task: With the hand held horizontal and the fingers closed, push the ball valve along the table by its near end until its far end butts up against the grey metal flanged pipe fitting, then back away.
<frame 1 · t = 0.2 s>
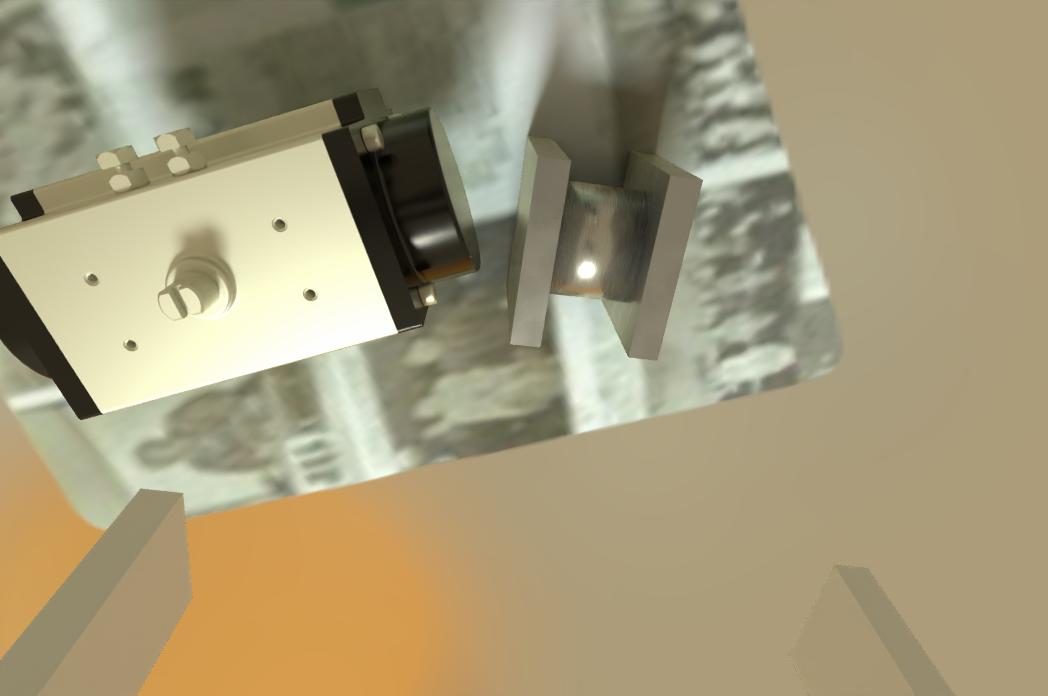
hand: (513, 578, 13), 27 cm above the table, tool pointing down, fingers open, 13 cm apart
ball valve: (315, 186, 36), on the table
flanged fitting: (578, 222, 38), on the table
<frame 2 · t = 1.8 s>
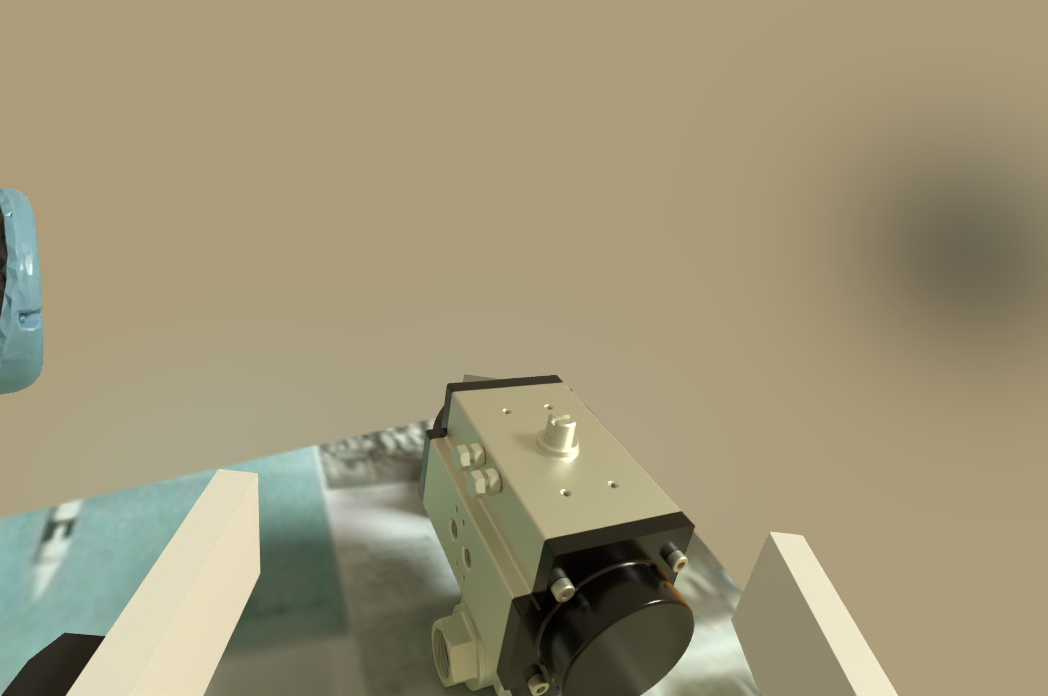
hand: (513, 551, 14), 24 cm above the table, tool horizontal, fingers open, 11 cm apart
ball valve: (498, 664, 38), on the table
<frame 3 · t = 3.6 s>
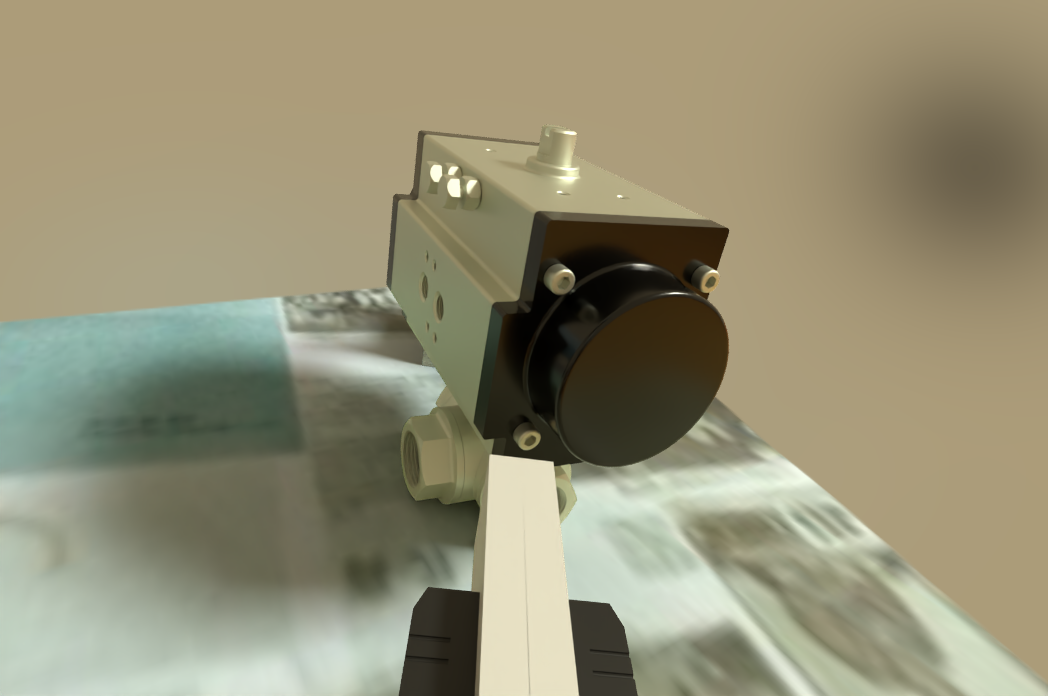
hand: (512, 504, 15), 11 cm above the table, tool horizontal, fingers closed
ball valve: (481, 488, 32), on the table
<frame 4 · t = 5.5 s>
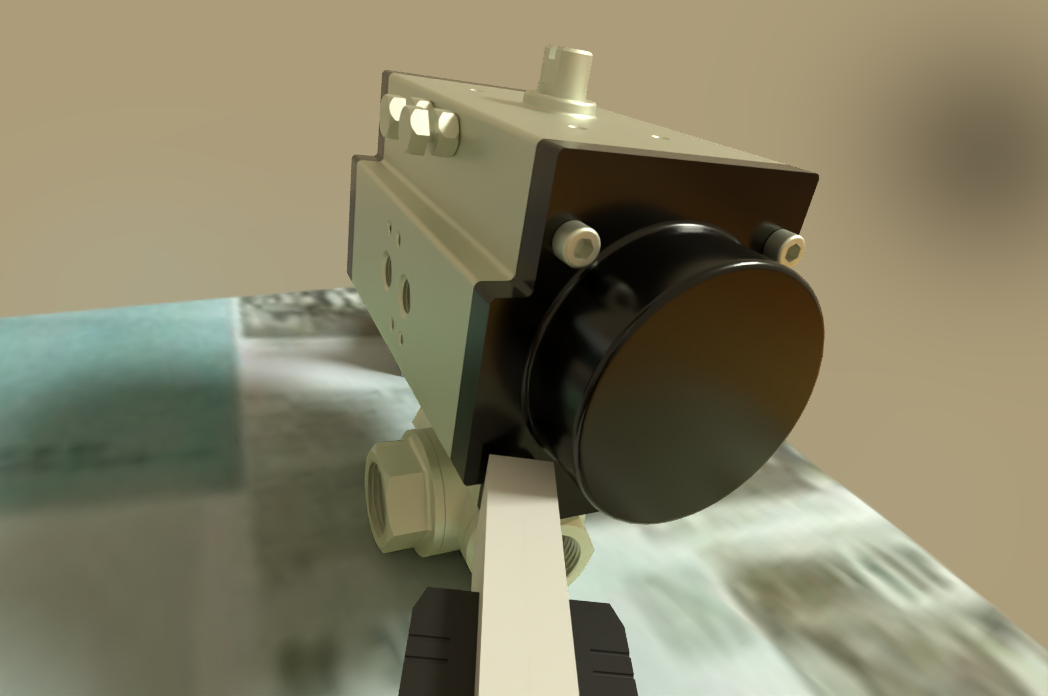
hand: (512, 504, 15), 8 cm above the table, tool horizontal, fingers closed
ball valve: (470, 531, 25), on the table, touching gripper
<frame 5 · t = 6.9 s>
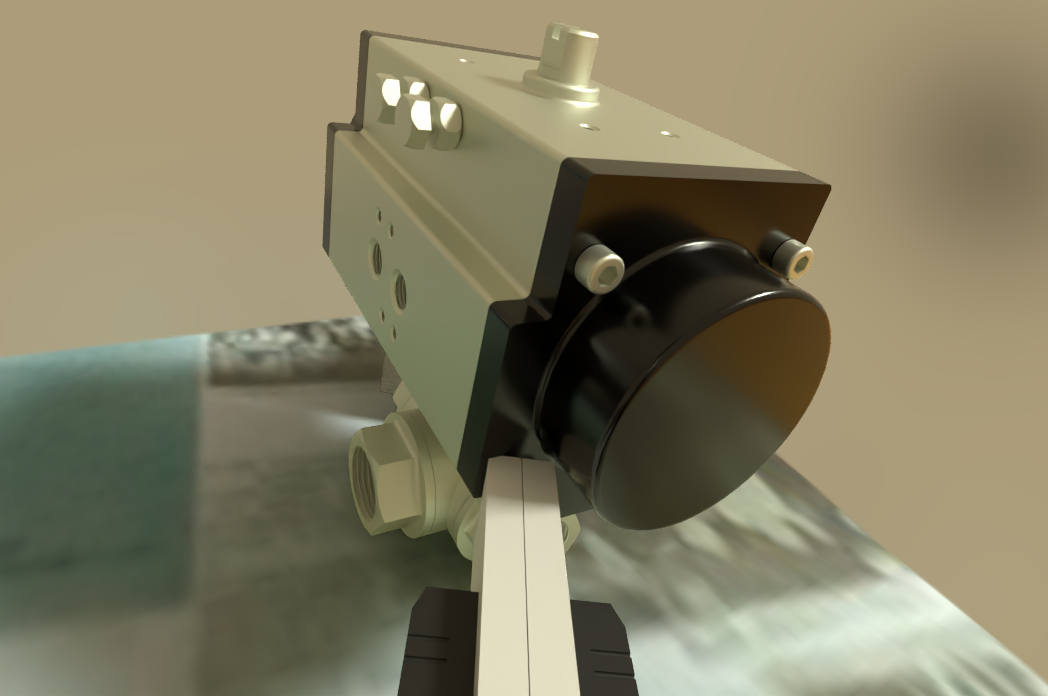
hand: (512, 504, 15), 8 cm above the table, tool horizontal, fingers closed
ball valve: (453, 506, 26), on the table, touching flanged fitting, gripper
flanged fitting: (480, 387, 34), point 1 cm above the table, tilted 13°, touching ball valve
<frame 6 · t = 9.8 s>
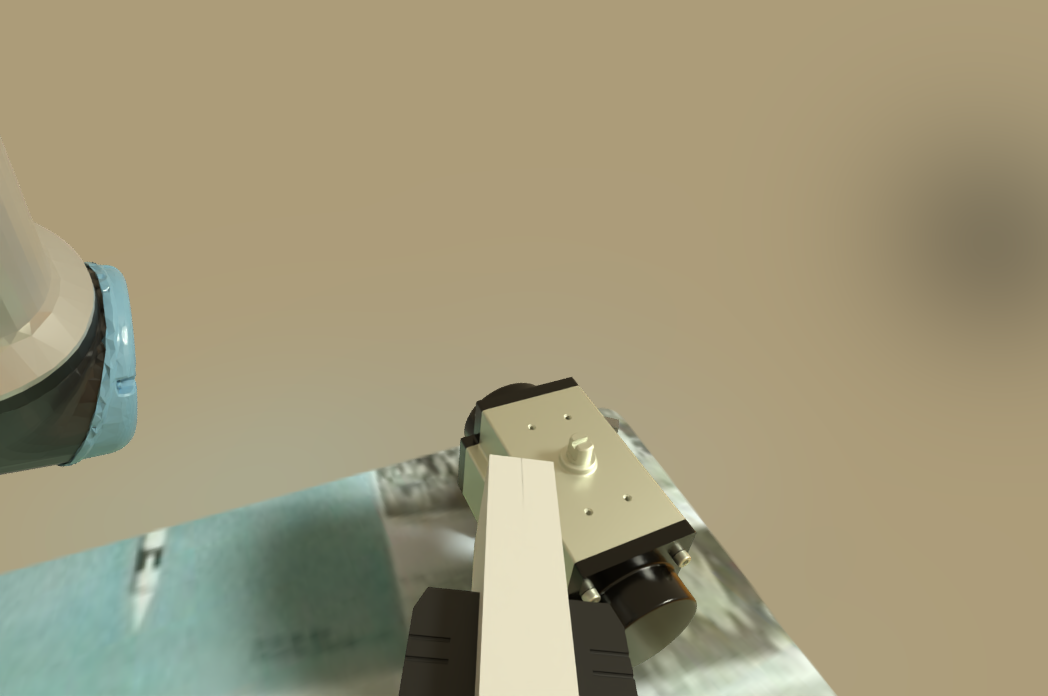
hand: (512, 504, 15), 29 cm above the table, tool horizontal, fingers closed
ball valve: (535, 610, 47), on the table
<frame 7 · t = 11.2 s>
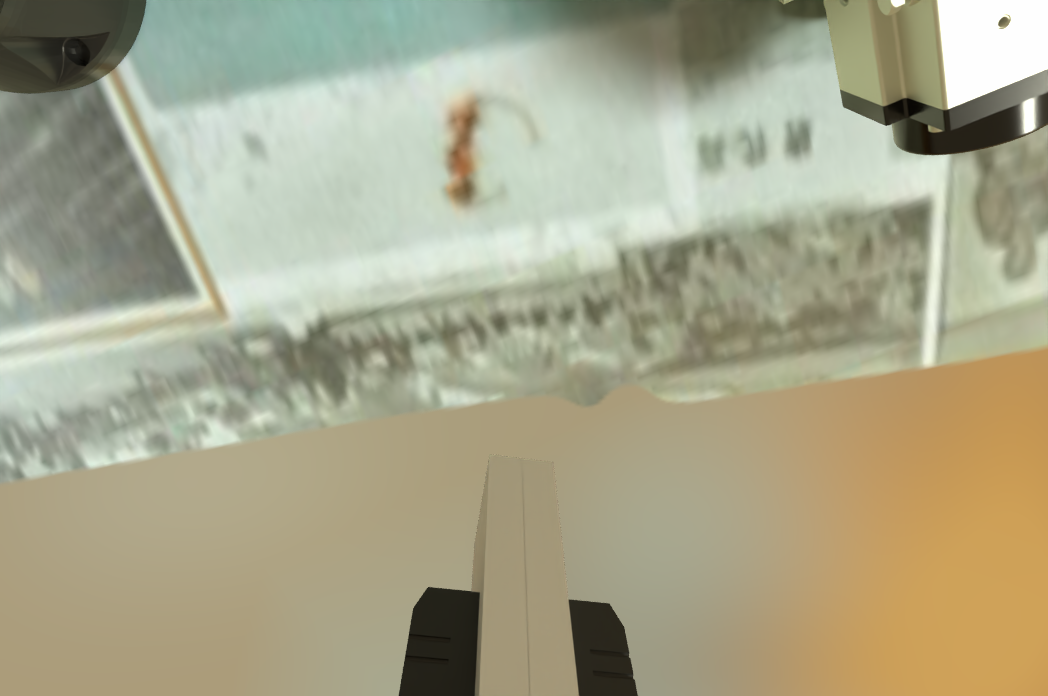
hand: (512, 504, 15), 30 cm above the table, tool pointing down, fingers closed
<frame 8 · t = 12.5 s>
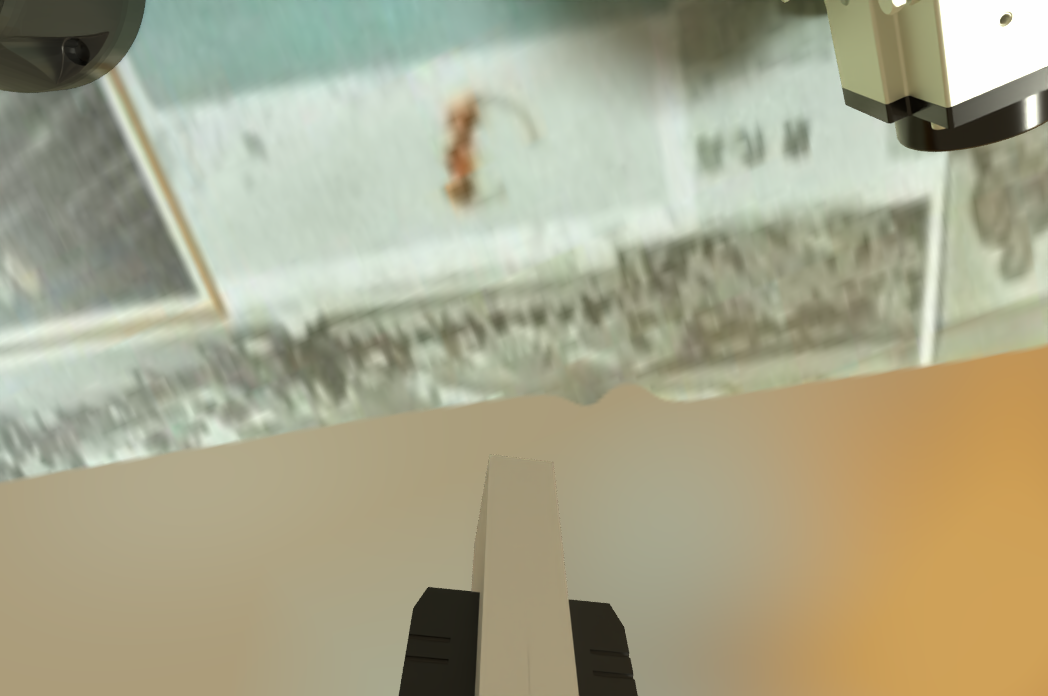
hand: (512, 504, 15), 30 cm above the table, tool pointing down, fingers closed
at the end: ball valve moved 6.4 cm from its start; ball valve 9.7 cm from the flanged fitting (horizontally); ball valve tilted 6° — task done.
